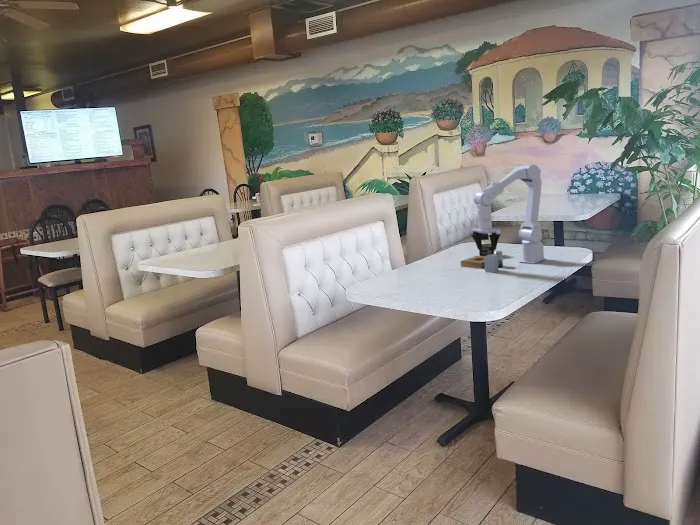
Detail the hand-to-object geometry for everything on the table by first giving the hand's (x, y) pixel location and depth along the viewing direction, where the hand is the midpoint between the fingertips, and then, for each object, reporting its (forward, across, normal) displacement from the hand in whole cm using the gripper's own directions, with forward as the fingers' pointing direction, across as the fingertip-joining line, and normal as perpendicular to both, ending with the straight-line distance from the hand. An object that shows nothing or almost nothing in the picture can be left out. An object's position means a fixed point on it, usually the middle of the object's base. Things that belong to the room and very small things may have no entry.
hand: (486, 249), depth 249 cm
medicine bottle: (+10, -19, +25) cm, 33 cm away
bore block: (+10, -11, +8) cm, 17 cm away
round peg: (+10, 0, +8) cm, 13 cm away
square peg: (+10, +2, 0) cm, 10 cm away
